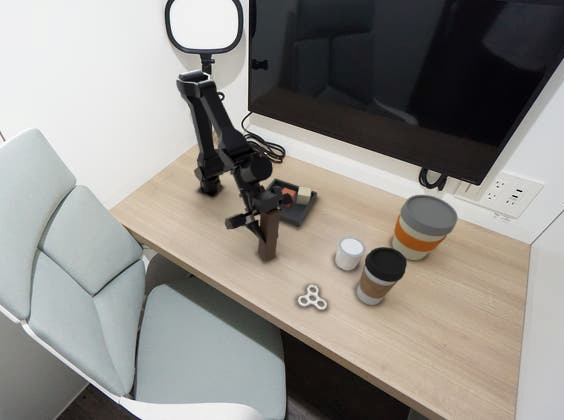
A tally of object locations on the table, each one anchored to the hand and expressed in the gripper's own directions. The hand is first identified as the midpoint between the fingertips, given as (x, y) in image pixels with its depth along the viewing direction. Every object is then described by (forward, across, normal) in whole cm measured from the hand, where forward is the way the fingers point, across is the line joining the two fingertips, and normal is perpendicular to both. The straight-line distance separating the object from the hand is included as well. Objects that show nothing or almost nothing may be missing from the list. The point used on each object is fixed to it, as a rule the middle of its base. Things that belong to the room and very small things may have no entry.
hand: (271, 240), depth 83 cm
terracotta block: (-6, +18, +16) cm, 25 cm away
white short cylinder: (+14, +17, -3) cm, 23 cm away
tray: (-5, +18, +16) cm, 24 cm away
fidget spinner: (+17, +2, -6) cm, 18 cm away
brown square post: (+4, 0, +6) cm, 8 cm away
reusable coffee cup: (+18, +36, -7) cm, 41 cm away
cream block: (-4, +23, +14) cm, 28 cm away
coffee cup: (+22, +15, -10) cm, 28 cm away
